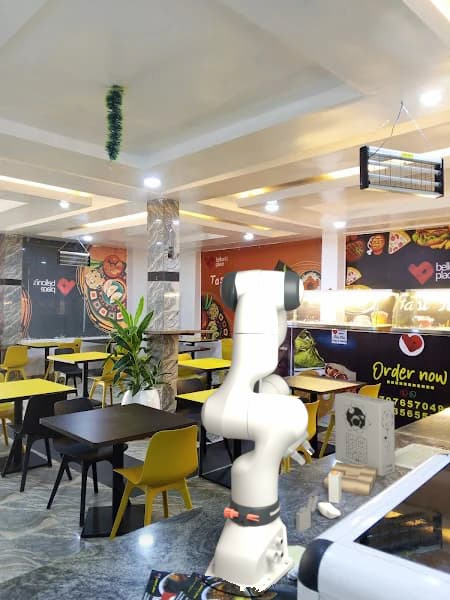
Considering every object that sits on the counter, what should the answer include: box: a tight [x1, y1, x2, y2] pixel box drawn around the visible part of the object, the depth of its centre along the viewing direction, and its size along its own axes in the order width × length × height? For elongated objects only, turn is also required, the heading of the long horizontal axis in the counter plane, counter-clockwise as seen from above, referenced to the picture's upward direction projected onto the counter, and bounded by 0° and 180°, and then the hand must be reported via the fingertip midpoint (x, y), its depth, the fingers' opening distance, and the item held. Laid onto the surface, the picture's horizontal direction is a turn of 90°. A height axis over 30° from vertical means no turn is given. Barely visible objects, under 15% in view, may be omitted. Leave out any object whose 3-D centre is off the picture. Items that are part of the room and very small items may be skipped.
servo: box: [327, 470, 343, 504], centre depth 144 cm, size 4×3×9 cm
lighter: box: [295, 493, 319, 532], centre depth 127 cm, size 7×2×8 cm, turn 126°
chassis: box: [323, 461, 379, 497], centre depth 157 cm, size 18×14×3 cm
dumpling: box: [317, 501, 341, 520], centre depth 133 cm, size 7×5×4 cm
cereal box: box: [334, 391, 396, 477], centre depth 173 cm, size 22×8×25 cm, turn 32°
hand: (308, 458), depth 148 cm, fingers open, 8 cm apart
